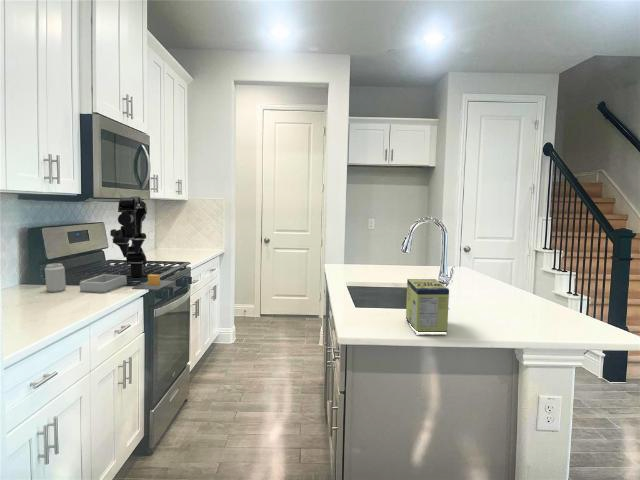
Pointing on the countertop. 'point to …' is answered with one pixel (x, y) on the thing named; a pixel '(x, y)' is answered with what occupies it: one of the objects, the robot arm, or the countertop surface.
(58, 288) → the can
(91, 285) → the tub
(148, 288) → the grey lid
